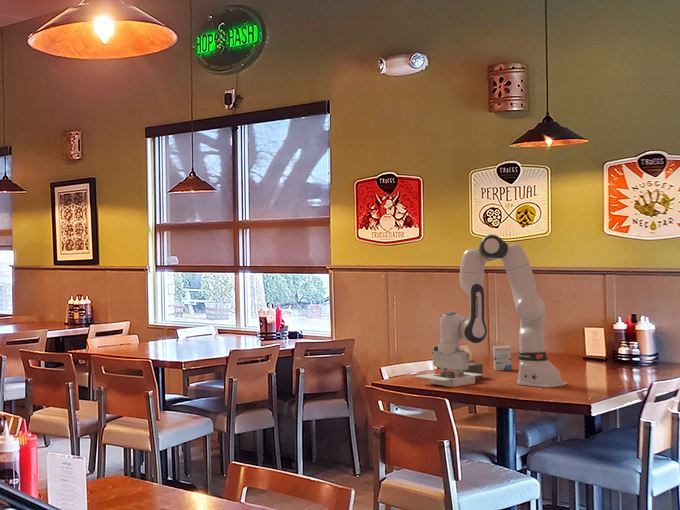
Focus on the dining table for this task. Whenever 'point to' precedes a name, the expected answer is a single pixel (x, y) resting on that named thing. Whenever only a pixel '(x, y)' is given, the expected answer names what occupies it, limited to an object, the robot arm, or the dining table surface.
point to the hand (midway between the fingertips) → (450, 378)
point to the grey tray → (437, 379)
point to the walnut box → (451, 374)
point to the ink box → (502, 358)
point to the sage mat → (423, 375)
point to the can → (475, 369)
